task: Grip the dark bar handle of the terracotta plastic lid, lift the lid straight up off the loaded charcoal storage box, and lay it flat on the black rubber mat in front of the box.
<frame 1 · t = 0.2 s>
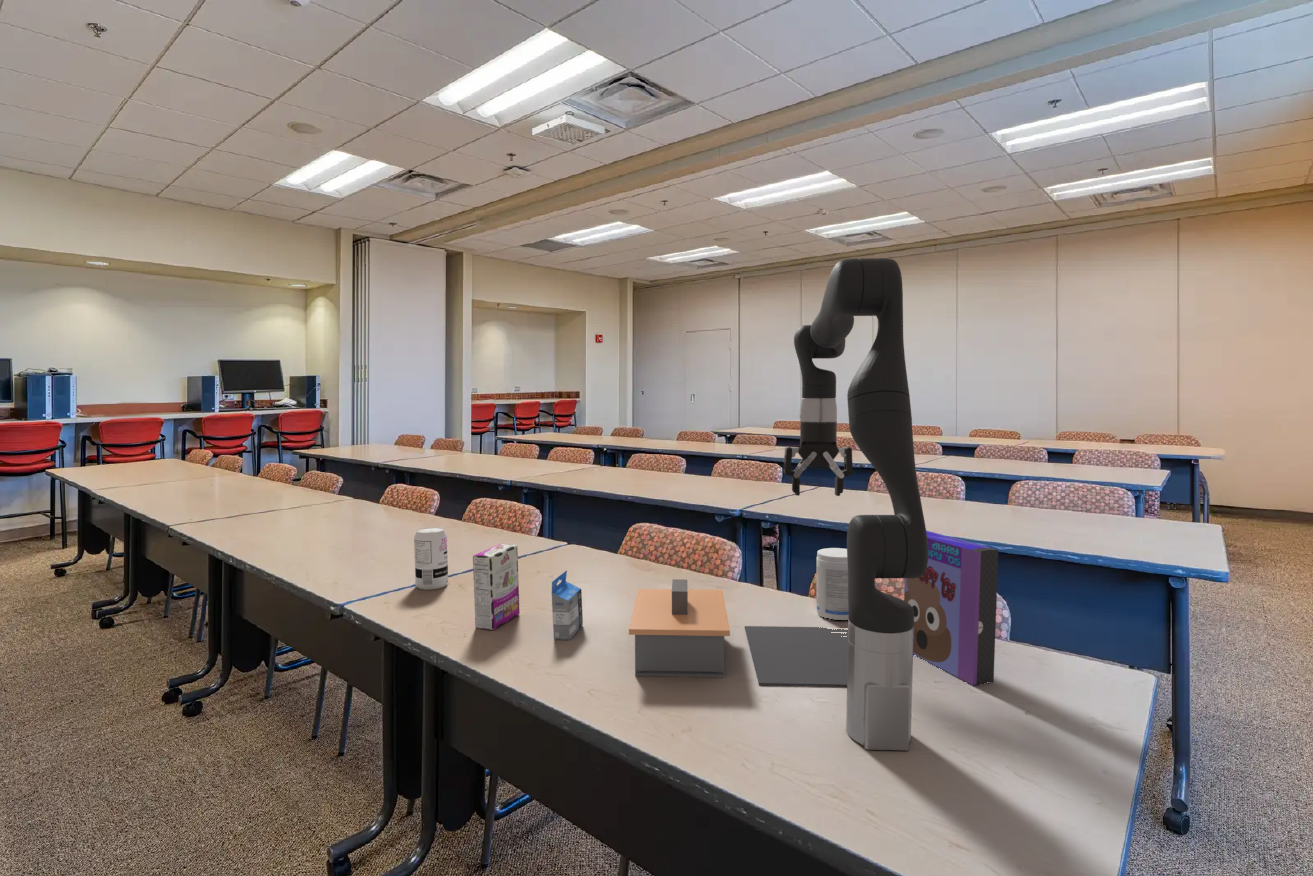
hand: (817, 495, 141), 29 cm above the table, tool pointing down, fingers open, 8 cm apart
supplement tub: (837, 616, 152), on the table
storage box: (679, 652, 130), on the table
lid: (679, 612, 130), point 8 cm above the table, touching storage box
cereal box: (945, 666, 124), on the table
supplement can: (432, 586, 175), on the table
label tape box: (568, 633, 141), on the table
candy bar box: (497, 622, 148), on the table
rubber mat: (812, 654, 129), on the table
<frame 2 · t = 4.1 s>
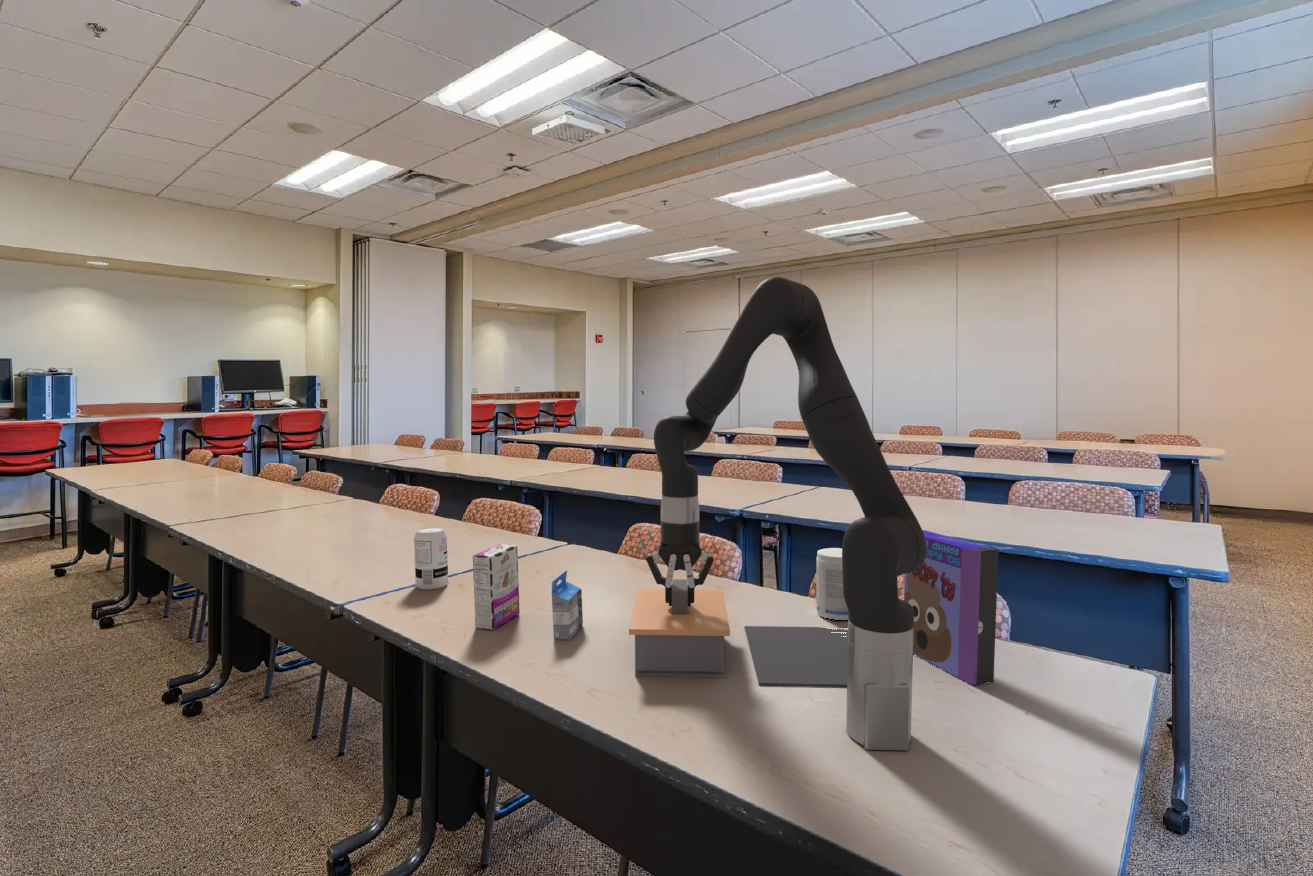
hand: (679, 604, 130), 10 cm above the table, tool pointing down, fingers closed on lid, 3 cm apart
lid: (679, 612, 130), point 8 cm above the table, touching gripper, storage box
everything else where it was.
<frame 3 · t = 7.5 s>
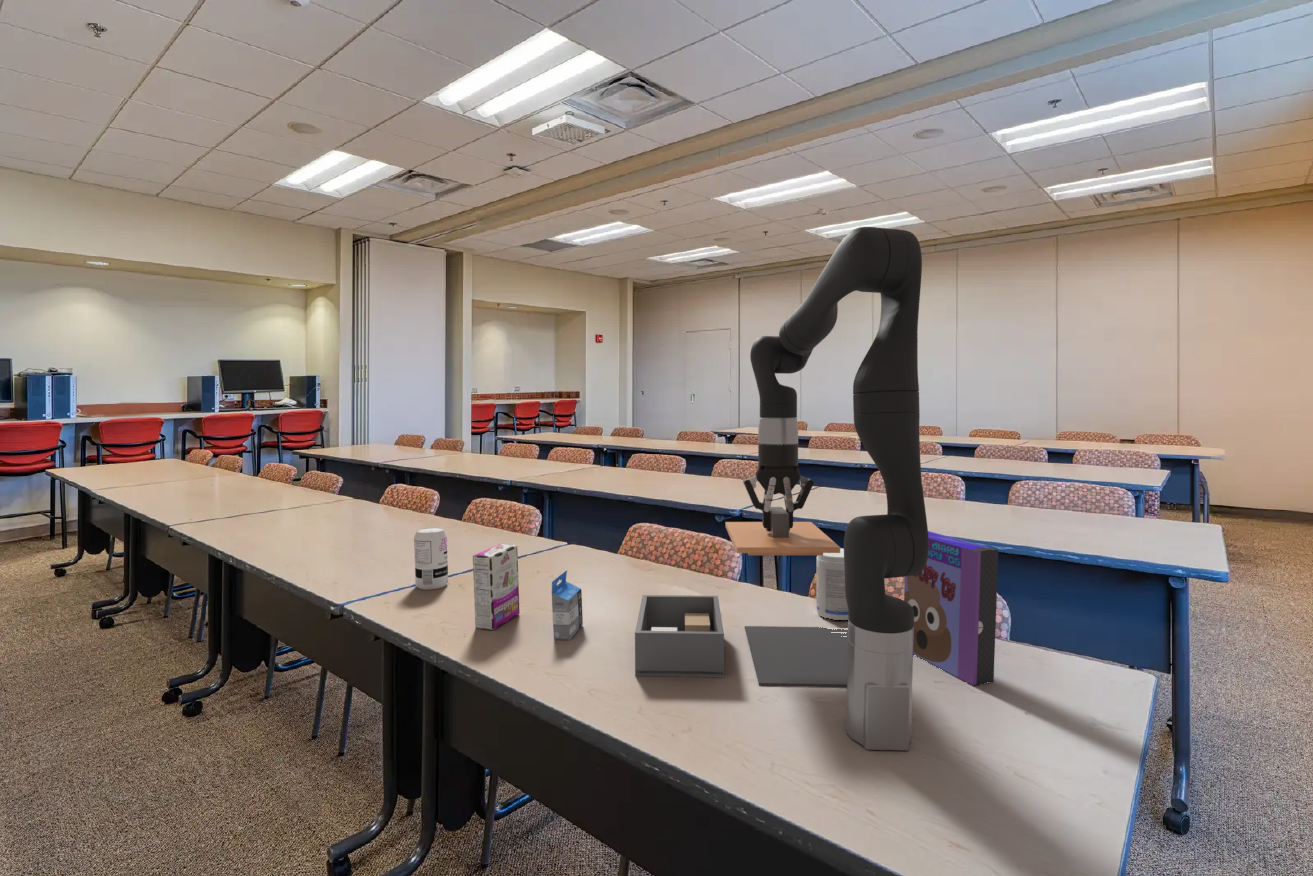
hand: (777, 530, 127), 25 cm above the table, tool pointing down, fingers closed on lid, 3 cm apart
lid: (777, 538, 127), point 23 cm above the table, touching gripper
everything else where it was.
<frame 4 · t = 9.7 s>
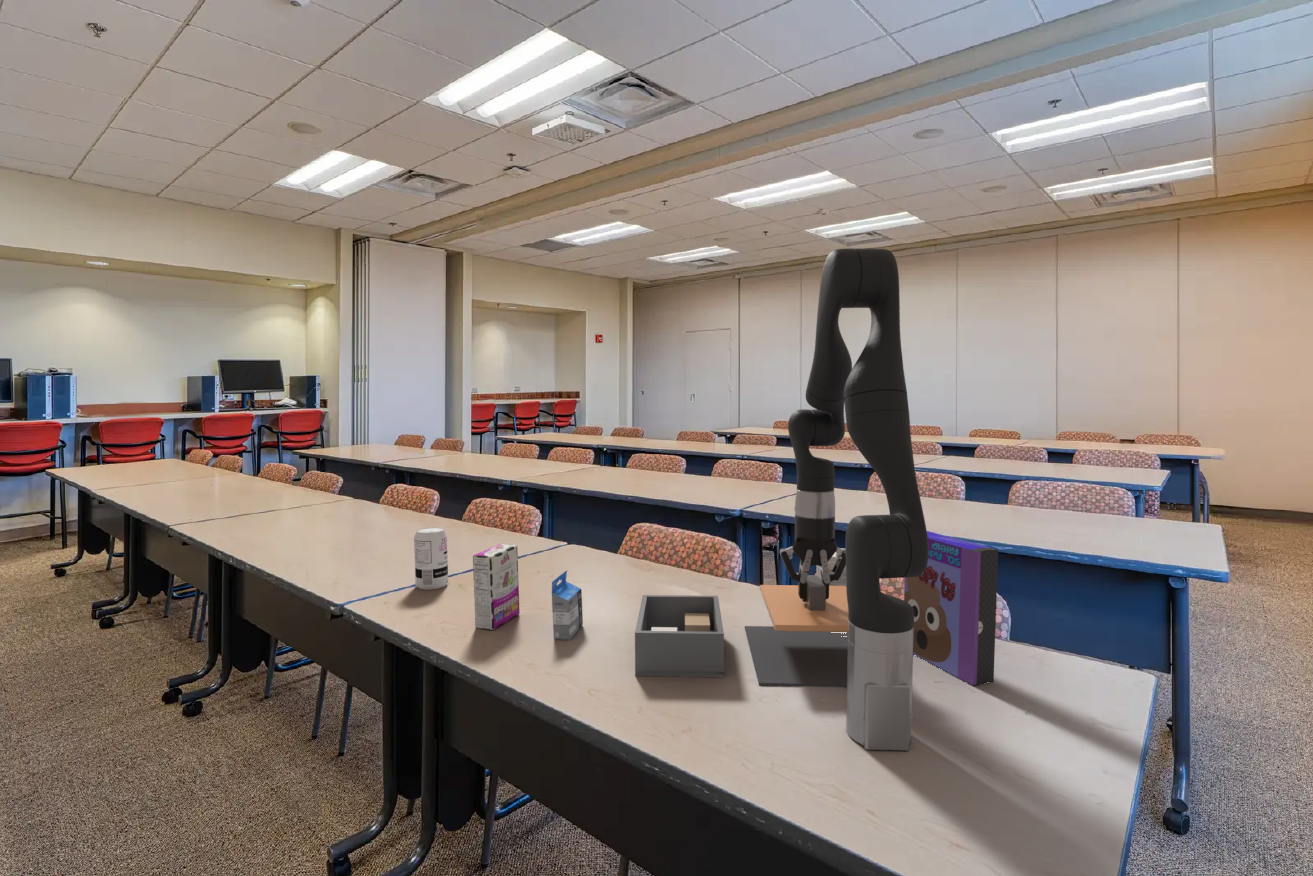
hand: (813, 600, 128), 11 cm above the table, tool pointing down, fingers closed on lid, 3 cm apart
lid: (813, 608, 129), point 9 cm above the table, touching gripper
everything else where it was.
when the fingers open (4 cm above the table, at t = 11.3 s): lid drops 1 cm, resting on rubber mat.
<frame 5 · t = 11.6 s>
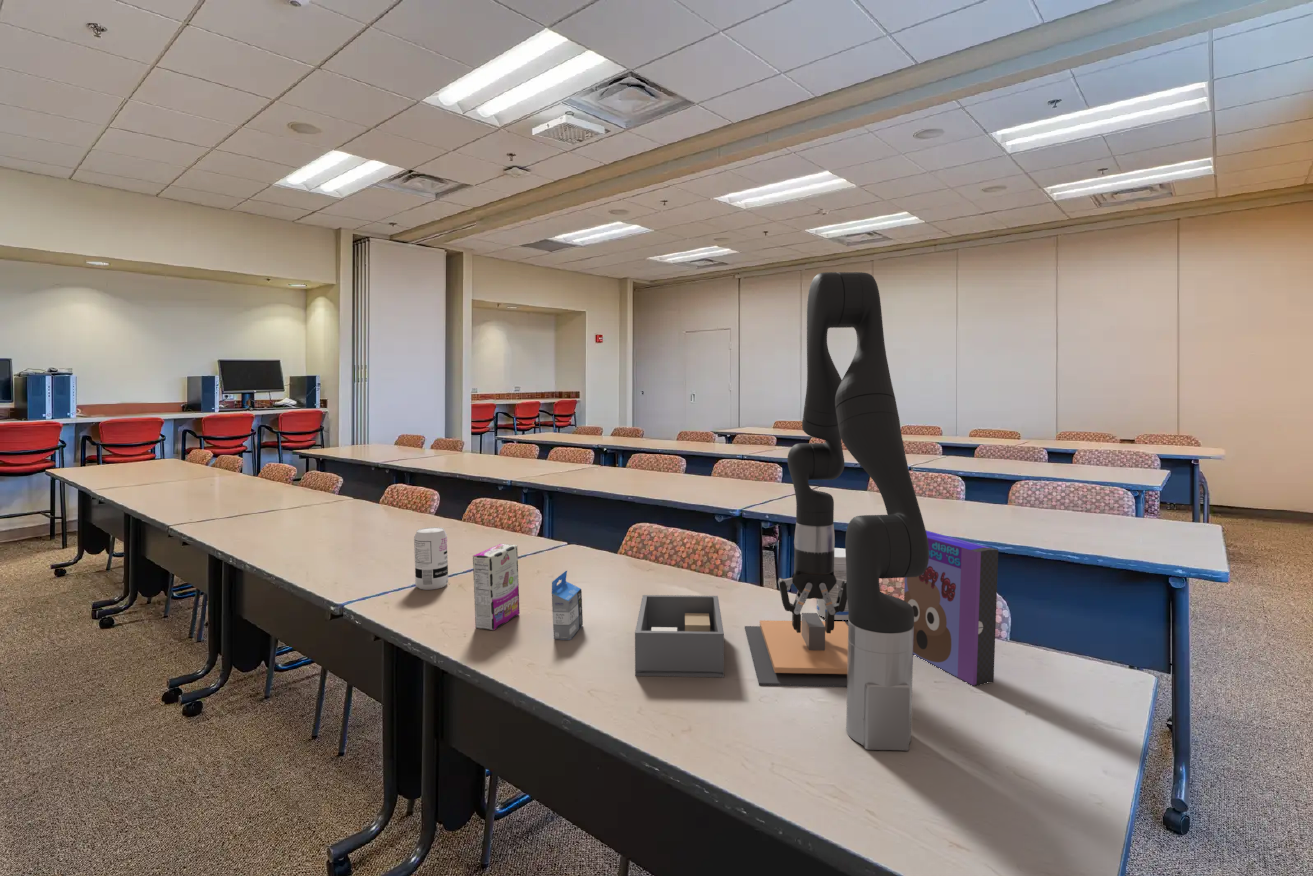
hand: (813, 631, 129), 5 cm above the table, tool pointing down, fingers open, 5 cm apart
lid: (812, 647, 129), point 1 cm above the table, touching rubber mat
everything else where it was.
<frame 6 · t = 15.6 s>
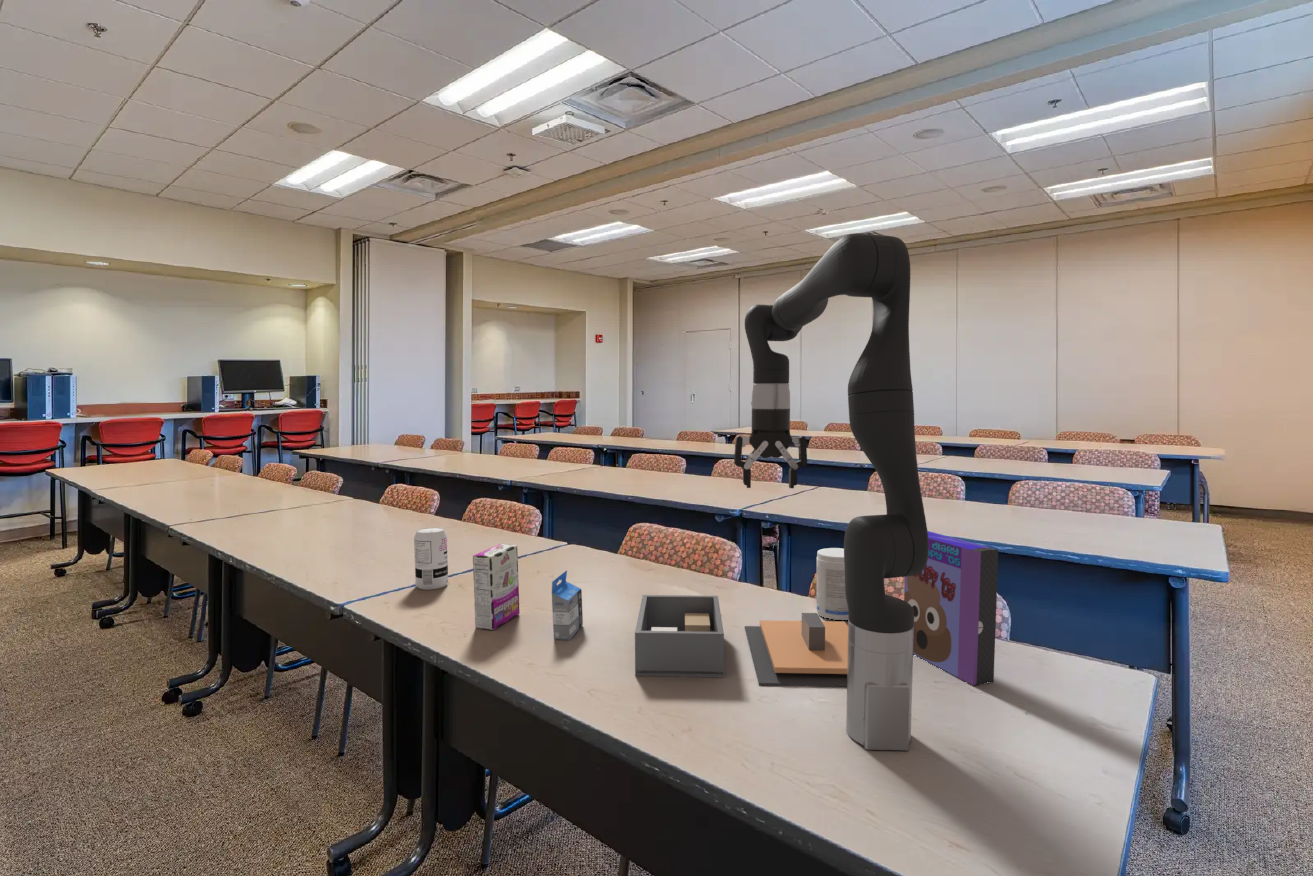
hand: (769, 487, 132), 32 cm above the table, tool pointing down, fingers open, 8 cm apart
nothing on the table moved.
at the end: lid inside the target area (0.0 cm from its centre), point 1.4 cm above the table; lid tilted 0°; the gripper is holding nothing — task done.
